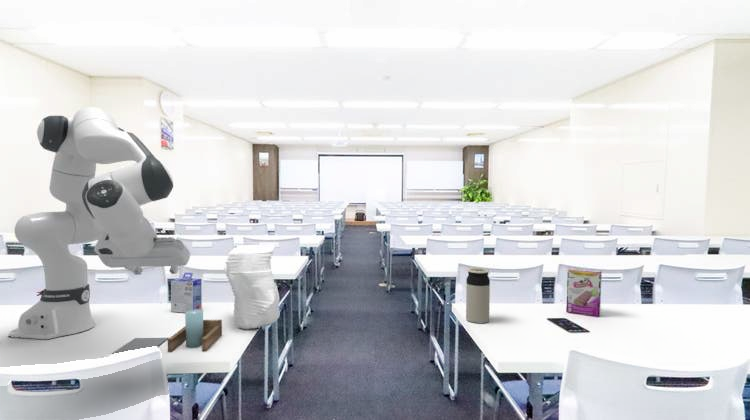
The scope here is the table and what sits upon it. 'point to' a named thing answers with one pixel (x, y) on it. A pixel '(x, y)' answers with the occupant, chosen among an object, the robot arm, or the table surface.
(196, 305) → the ink cartridge box
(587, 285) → the candy bar box
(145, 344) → the mat
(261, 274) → the white crumpled mass
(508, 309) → the table surface
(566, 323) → the smartphone
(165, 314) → the table surface
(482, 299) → the travel mug
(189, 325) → the pale blue domed cylinder
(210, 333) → the holder
